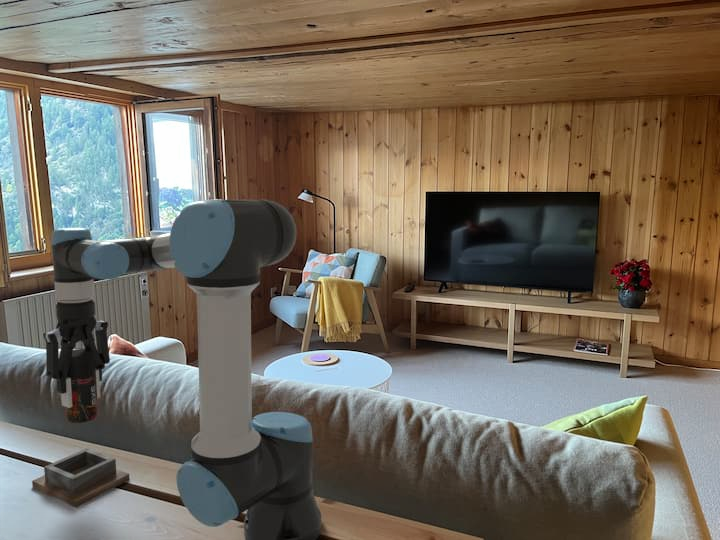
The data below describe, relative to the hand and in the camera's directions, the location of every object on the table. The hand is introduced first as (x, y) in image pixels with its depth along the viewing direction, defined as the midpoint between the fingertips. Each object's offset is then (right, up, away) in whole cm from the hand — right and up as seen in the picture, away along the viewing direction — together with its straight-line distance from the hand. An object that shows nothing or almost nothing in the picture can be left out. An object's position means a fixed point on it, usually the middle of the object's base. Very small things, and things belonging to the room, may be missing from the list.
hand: (81, 400), depth 122 cm
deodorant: (0, -4, +1) cm, 4 cm away
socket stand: (-1, -19, +2) cm, 20 cm away
